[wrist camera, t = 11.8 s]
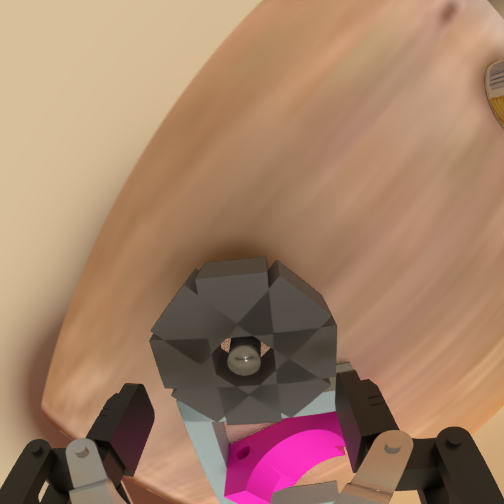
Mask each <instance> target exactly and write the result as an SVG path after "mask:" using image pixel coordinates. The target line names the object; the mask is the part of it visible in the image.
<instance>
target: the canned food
mask: <svg viewBox="0 0 504 504" xmlns="http://www.w3.org/2000/svg"><path fill="white" fill-rule="evenodd" d="M485 89H486V94H487V98H488V101H489V103H490V106H491V109H492V111H493V113H494V114H495V116H496V118H497V120H498V121H499V122H500V124H501V125H502V126H503V127H504V59H502V60H500V61H497V62H494V63H492V64H491V65H489V66H488V68H487V70H486V72H485Z"/></svg>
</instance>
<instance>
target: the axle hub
mask: <svg viewBox="0 0 504 504" xmlns="http://www.w3.org/2000/svg"><path fill="white" fill-rule="evenodd" d="M267 271H268V269H267ZM227 363H228V367H229V368H230V370H231V371H232V372H234V373H235V374H238V375H242V376H247V375H251V374H254V373H255V372H257V371H258V369H259V368H260V364H261V341H260V340H258V339H257V338H256V337H254V336H246V337H233V338H231V343H230V349H229V355H228V360H227Z"/></svg>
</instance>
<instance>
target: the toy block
mask: <svg viewBox="0 0 504 504" xmlns="http://www.w3.org/2000/svg"><path fill="white" fill-rule="evenodd" d="M344 447H346V445H345V442H344V438H343V435H342V431H341V428H340V424H339V421H338V418H337V414H336V411H333V412H327V413H321V414H314V415H306V416H298V417H292V418H290V417H289V418H286V419H284V420H282V422H278V423H276V424H274V425H272V426H270V427H268V428H266V429H264V430H262V431H260V432H257V433H255V434H253V435H251V436H249V437H246V438H244V439H242V440H239V441H237V442H235V443H232V444H230V446H229V455H228V463H227V472H226V481H225V489H224V497H225V498H227V499H229V500H231V501H233V502H235V503H237V504H269V503H271V498H272V494H273V492H275V491H278V490H281V489H284V488H287V487H290V486H292V485H295V484H296V482H297V481H298V480H299V479H300V478H301V477H302V476H303V475H304V474H305V473H306V472H307V471H308V470H310V469H311V468H312V467H314V466H315V465H317V464H319V463H320V462H322V461H325V460H327V459H330V458H333V457H336V456H342V455H345V451H344Z"/></svg>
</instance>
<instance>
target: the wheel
mask: <svg viewBox="0 0 504 504" xmlns="http://www.w3.org/2000/svg"><path fill="white" fill-rule="evenodd" d="M151 332H153V333H154V334H153V335H152V337H151V338H150V340H149V341H150V345H151V348H152V351H153V354H154V358H155V361H156V364H157V367H158V370H159V373H160V376H161V379H162V382H163V385H164V387H165V388H171V389H174V390H173V392H172V395H171V396H173V397H174V398H176V399H177V400H179V401H181V402H182V403H184V404H186V405H187V406H189V407H191V408H192V409H194V410H196V411H197V412H199V413H201V414H203V415H205V416H206V417H208V418H210V419H212V420H214V421H215V422H217V423H218V422H219V421H220V420H221V419H223V418H224V417H225V418H226V422H227V425H241V424H260V423H273V422H282V416H281V413H282V414H284V415H286V416H288V417H290V418H292V417H293V416H295V415H296V414H297V413H299V412H300V411H301V410H302V409H304V408H305V407H306V406H307V405H308V404H310V403H311V402H312V401H313V400H314V399H316V398H317V397H318V396H319V395H320V394H322V393H323V392H324V391H325V390H326V389H327V388H328V387H330V386H331V383H330V380H329V378H331V377H336V349H337V325H336V323H335V321H334V318H333V316H332V314H331V312H330V310H329V308H328V306H327V304H326V302H325V300H324V298H323V296H322V295H321V294H320V293H319V292H317V291H316V290H315V289H314V288H312V287H311V286H310V285H309V284H307V283H306V282H305V281H304V280H302V279H301V278H300V277H298V276H297V275H296V274H295V273H293V272H292V271H291V270H290V269H288V268H287V267H286V266H284V265H283V264H282V263H281V262H279V261H278V260H276V261H275V263H274V264H273V265H272V266H271V267H270V269H269V270H268V271H267V262H266V257H257V258H248V259H238V260H229V261H219V262H210V263H205V264H204V265H203V267H202V269H201V270H200V271H199V270H197V269H196V268H195V270H194V271H193V272H192V274H191V275H190V276H189V278H188V279H187V280H186V282H185V283H184V284H183V286H182V287H181V288H180V290H179V291H178V292H177V294H176V295H175V296H174V298H173V299H172V301H171V302H170V303H169V305H168V306H167V307H166V309H165V310H164V312H163V313H162V315H161V316H160V317H159V319H158V320H157V322H156V323H155V325H154V326H153V328H152V329H151ZM246 336H254V337H256V338H257V339H258V340H260V341H261V342H263V343H264V344H266V345H267V346H269V347H270V349H269V350H268V351H267V352H266V353H265V354H264V355H263V356H262V357H261V364H260V368H259V369H258V371H257V372H255V373H254V374H251V375H247V376H242V375H238V374H235V373H234V372H232V371H231V370H230V368H229V367H228V363H227V360H228V355H229V353H227V352H226V351H224V350H223V349H221V343H222V342H223V341H224V340H225V339H226V338H233V337H246Z"/></svg>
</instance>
